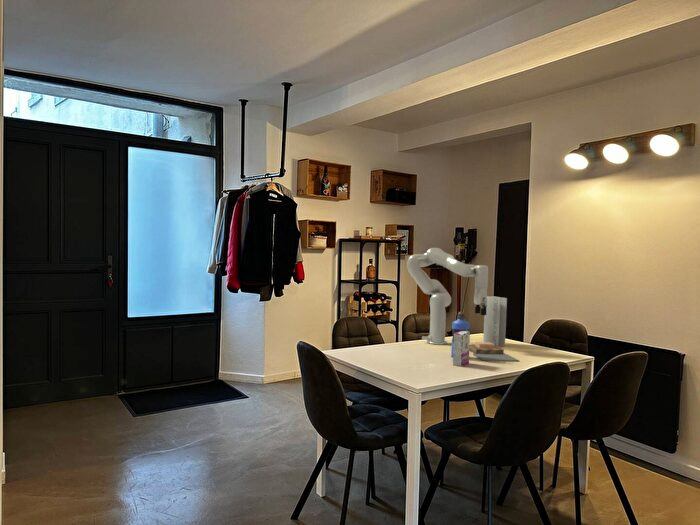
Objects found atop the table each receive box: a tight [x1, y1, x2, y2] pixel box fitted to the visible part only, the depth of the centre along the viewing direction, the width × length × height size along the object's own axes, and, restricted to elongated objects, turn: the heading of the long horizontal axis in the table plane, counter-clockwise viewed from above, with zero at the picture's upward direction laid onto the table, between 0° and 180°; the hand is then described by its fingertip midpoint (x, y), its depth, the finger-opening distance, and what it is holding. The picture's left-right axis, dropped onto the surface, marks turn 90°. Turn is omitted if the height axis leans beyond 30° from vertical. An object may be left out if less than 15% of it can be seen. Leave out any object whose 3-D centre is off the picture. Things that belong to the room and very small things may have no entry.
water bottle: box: [450, 311, 471, 359], centre depth 289 cm, size 9×9×25 cm
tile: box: [474, 341, 495, 348], centre depth 307 cm, size 9×7×2 cm
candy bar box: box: [452, 331, 471, 368], centre depth 271 cm, size 11×5×16 cm, turn 148°
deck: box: [469, 344, 505, 354], centre depth 305 cm, size 16×13×3 cm
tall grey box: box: [482, 295, 508, 347], centre depth 336 cm, size 14×6×30 cm, turn 25°
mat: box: [472, 353, 520, 362], centre depth 290 cm, size 20×16×1 cm
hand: (480, 314), depth 317 cm, fingers open, 9 cm apart
